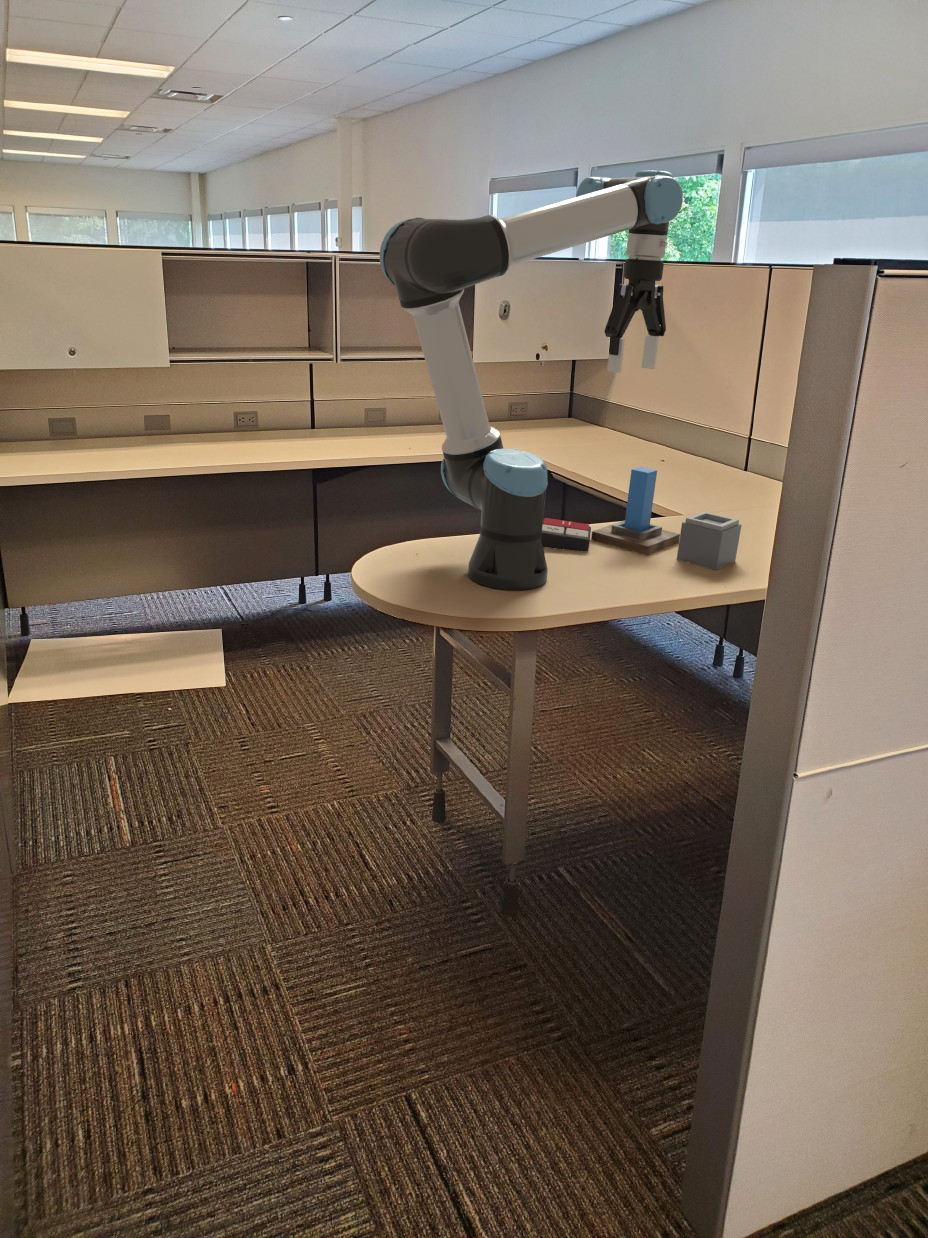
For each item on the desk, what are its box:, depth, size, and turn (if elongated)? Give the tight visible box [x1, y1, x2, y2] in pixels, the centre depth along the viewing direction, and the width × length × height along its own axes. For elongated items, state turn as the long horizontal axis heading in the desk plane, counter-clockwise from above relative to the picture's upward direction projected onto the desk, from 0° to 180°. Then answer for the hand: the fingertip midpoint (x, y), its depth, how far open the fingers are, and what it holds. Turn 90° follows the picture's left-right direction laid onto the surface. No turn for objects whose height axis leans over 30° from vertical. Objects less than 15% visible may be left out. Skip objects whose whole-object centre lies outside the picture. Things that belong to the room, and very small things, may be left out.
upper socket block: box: [676, 511, 742, 571], centre depth 195 cm, size 9×9×9 cm
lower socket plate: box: [590, 519, 680, 556], centre depth 206 cm, size 14×14×4 cm
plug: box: [624, 466, 658, 532], centre depth 203 cm, size 4×4×14 cm
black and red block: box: [541, 517, 592, 553], centre depth 203 cm, size 11×4×15 cm
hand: (631, 370), depth 191 cm, fingers open, 13 cm apart
